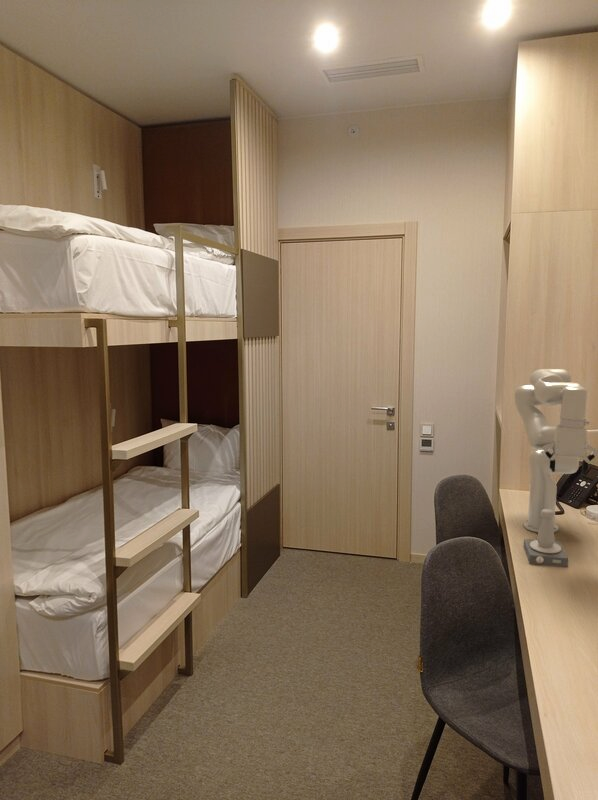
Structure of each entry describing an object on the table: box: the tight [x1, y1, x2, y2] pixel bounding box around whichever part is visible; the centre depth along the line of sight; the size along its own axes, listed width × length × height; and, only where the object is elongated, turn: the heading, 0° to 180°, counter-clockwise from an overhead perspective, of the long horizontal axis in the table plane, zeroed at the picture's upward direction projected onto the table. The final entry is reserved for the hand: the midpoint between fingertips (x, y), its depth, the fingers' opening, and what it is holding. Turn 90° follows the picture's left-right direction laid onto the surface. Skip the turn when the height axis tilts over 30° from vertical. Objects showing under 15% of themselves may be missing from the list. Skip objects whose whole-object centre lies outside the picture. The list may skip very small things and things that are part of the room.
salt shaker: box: [536, 509, 556, 548], centre depth 200 cm, size 6×6×13 cm
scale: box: [523, 538, 569, 568], centre depth 201 cm, size 14×12×4 cm
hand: (568, 471), depth 199 cm, fingers open, 9 cm apart
